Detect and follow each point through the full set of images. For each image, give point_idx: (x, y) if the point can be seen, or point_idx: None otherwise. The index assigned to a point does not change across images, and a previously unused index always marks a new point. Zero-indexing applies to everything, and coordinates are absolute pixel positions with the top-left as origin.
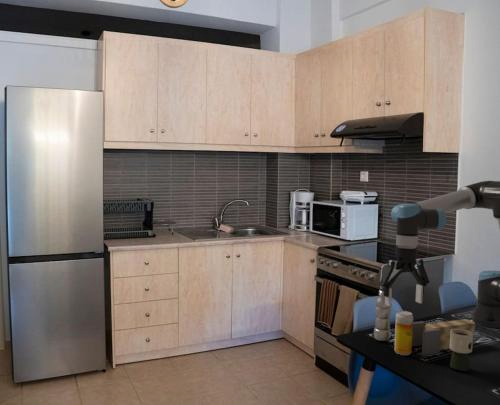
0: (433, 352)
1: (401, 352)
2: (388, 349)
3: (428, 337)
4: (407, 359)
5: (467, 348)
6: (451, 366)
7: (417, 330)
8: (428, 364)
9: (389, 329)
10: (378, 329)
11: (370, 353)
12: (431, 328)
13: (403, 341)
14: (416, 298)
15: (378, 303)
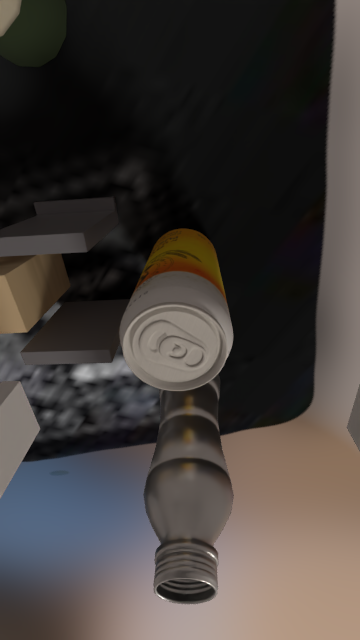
0: (67, 213)
1: (207, 239)
2: None
3: (71, 226)
4: (206, 194)
5: None
6: (64, 9)
7: (73, 331)
8: (147, 115)
9: None
10: (215, 391)
11: (307, 284)
12: (15, 289)
13: (204, 248)
14: (21, 446)
15: (229, 498)
